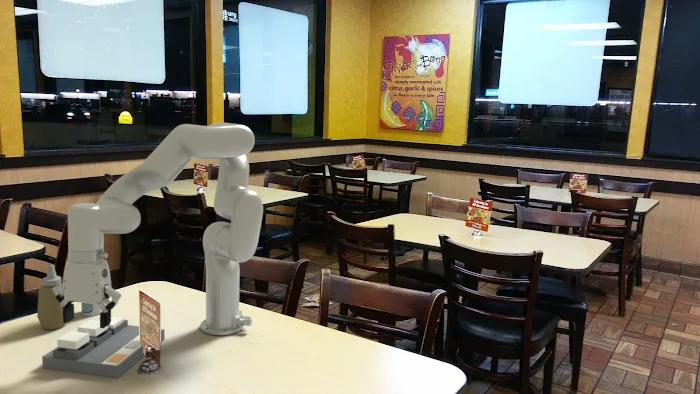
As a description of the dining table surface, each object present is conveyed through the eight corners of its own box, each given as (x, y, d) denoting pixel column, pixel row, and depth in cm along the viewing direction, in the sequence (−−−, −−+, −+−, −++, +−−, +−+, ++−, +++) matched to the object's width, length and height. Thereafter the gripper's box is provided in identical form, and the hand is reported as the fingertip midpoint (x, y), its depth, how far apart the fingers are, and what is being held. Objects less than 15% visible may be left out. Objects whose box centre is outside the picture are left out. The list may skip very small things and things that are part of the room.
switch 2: (107, 328, 140) (107, 321, 140) (95, 336, 136) (95, 329, 135) (90, 326, 141) (90, 319, 141) (77, 334, 136) (77, 327, 136)
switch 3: (124, 325, 148) (123, 318, 148) (113, 332, 143) (113, 325, 143) (107, 323, 149) (107, 316, 149) (96, 330, 144) (96, 323, 144)
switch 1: (89, 340, 133) (89, 333, 133) (76, 349, 128) (76, 341, 128) (71, 338, 134) (71, 331, 134) (57, 347, 129) (57, 339, 129)
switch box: (164, 339, 148) (164, 323, 147) (118, 378, 127) (117, 360, 126) (98, 331, 151) (98, 316, 150) (42, 368, 130) (41, 350, 129)
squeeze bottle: (56, 333, 148) (53, 271, 145) (31, 330, 150) (27, 268, 147) (76, 322, 156) (73, 263, 153) (52, 319, 158) (49, 260, 155)
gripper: (128, 255, 129) (128, 322, 131) (64, 248, 131) (65, 314, 134) (110, 263, 122) (110, 334, 124) (42, 255, 124) (43, 325, 127)
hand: (86, 323), depth 129 cm, fingers open, 9 cm apart
